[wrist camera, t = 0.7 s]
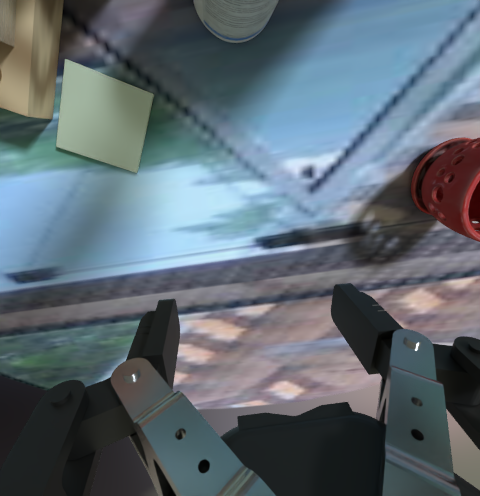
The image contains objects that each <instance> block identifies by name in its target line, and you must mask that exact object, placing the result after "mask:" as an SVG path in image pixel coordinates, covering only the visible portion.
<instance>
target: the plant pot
mask: <svg viewBox="0 0 480 496" xmlns="http://www.w3.org/2000/svg"><path fill="white" fill-rule="evenodd" d="M411 194H412V198H413V201H414V203H415V205H416V206H417V207H418V208H419V209H420V210H421V211H423V212H424V213H427V214H430V215H433V216H434V217H435V218H436V219H437V220H438V221H439V222H441V223H442V224H444V225H445V226H447V227H448V228H450V229H452V230H454V231H455V232H457V233H459V234H462V235H464V236H466V237H468V238H471V239H473V240H476V241H479V242H480V138H477V139H469V138H455V139H451V140H448V141H445V142H443V143H441V144H439V145H437V146H436V147H434V148H433V149H432V150H431V151H430V152H428V153H427V154H426V155H425V157H424V158H423V159H422V160H421V162H420V163H419V165H418V166H417V168H416V170H415V172H414V175H413V178H412V183H411ZM472 221H478V222H479V223H472ZM475 230H478V231H475Z"/></svg>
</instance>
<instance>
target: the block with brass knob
mask: <svg viewBox="0 0 480 496" xmlns="http://www.w3.org/2000/svg"><path fill="white" fill-rule="evenodd" d="M15 22H16V0H0V42H3V43H5V44H8V45H11V46H13V47H14V45H15Z"/></svg>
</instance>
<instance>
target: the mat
mask: <svg viewBox="0 0 480 496" xmlns="http://www.w3.org/2000/svg"><path fill="white" fill-rule="evenodd" d="M153 98H154V94H152V93H149V92H147V91H144V90H142V89H139V88H137V87H134V86H132V85H129V84H127V83H124V82H122V81H119V80H117V79H114V78H112V77H109V76H107V75H104V74H102V73H99V72H97V71H94V70H92V69H89V68H87V67H84V66H82V65H79V64H77V63H74V62H72V61H69V60H67V59H65V65H64V75H63V85H62V95H61V104H60V114H59V124H58V133H57V143H56V147H59V148H62V149H65V150H68V151H71V152H74V153H77V154H80V155H83V156H86V157H89V158H92V159H95V160H98V161H102V162H105V163H108V164H111V165H114V166H117V167H120V168H123V169H126V170H129V171H132V172H135V173H138V169H139V164H140V159H141V154H142V150H143V145H144V140H145V135H146V131H147V126H148V121H149V117H150V112H151V107H152V102H153Z"/></svg>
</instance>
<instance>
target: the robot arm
mask: <svg viewBox="0 0 480 496" xmlns="http://www.w3.org/2000/svg"><path fill="white" fill-rule="evenodd" d="M331 316H332V319H333V322H334V323H335V325H336V326H337V328H338V329H339V331H340V332H341V334H342V335H343V337H344V338H345V340H346V341H347V343H348V344H349V346H350V347H351V349H352V350H353V352H354V353H355V355H356V356H357V358H358V359H359V361H360V362H361V364H362V365H363V367H364V368H365V370H366V371H367V373H368V374H369V375H370V374H378V373H380V375H381V376H382V379H381V383H380V392H379V399H378V407H377V415H376V419H375V418H372V417H370V416H367V415H365V414H361V413H358V412H353V411H352V409H351V408H350V406H349V404H348V402H343V403H335V404H328V405H321V406H319V407H316V408H314V409H312V410H310V411H307V412H305V413H303V414H301V415H298V416H287V415H279V414H271V413H260V414H252V415H245V416H238V427H236V428H233V429H232V430H230V431H228V432H227V433H225V434H224V435H223V436H221V437H219V435H218V434H217V433H216V432H215V431H214V429H213V428H212V427H211V426H210V425H209V424H208V422H207V421H206V420H205V419H204V418H203V417H202V415H201V414H200V413H199V412H198V411H197V409H196V408H195V407H194V406H193V405H192V403H191V402H190V401H189V400H188V399H187V398H186V396H185V395H184V394H183V393H182V392H180V391H177V392H176V393H174V392H173V390H172V389H173V382H174V375H175V368H176V360H177V353H178V346H179V339H180V324H179V318H178V312H177V305H176V300H175V299H166V300H159V302H158V305H157V308H156V311H150V312H147V313H146V314H145V316H144V317H143V318H142V319H141V321H140V323H139V326H138V329H137V332H136V336H135V337H134V340H133V343H132V345H131V348H130V351H129V354H128V357H127V359H126V361H125V362H123V363H122V364H120V365H119V366H118V367H117V368H116V369H115V370H114V372H113V373H112V376H111V377H110V378H108V379H106V380H104V381H101V382H99V383H96V384H93V385H91V386H88V387H85V386H84V384H83V383H82V382H81V381H78V380H69V381H65V382H62V383H60V384H58V385H56V386H54V387H53V388H51V389H50V390H49V391H47V392H46V393H45V394H44V395H43V396H42V398H41V399H40V400H39V402H38V404H37V406H36V407H35V409H34V411H33V412H32V414H31V416H30V418H29V419H28V421H27V423H26V425H25V427H24V428H23V430H22V432H21V434H20V435H19V437H18V439H17V441H16V442H15V444H14V446H13V448H12V450H11V451H10V453H9V455H8V457H7V458H6V460H5V462H4V464H3V465H2V467H1V469H0V496H90V492H91V489H92V485H93V482H94V478H95V475H96V471H97V467H98V464H99V460H100V456H101V453H102V449H103V447H105V446H107V445H110V444H112V443H113V442H116V441H118V440H121V439H123V438H125V437H127V436H129V437H130V439H131V441H132V443H133V445H134V447H135V449H136V450H137V452H138V454H139V456H140V458H141V460H142V462H143V463H144V465H145V467H146V469H147V471H148V473H149V475H150V477H151V479H152V481H153V484H154V486H155V488H156V491H157V493H158V495H159V496H480V490H478V489H477V488H475V487H474V486H473V485H471V484H470V483H468V482H467V481H465V480H464V479H463V478H461V477H460V476H458V475H457V474H455V473H454V472H453V464H452V455H451V447H450V439H449V430H448V422H447V413H446V409H447V410H448V411H449V412H450V414H451V415H452V416H453V417H454V419H455V420H456V421H457V422H458V424H459V425H460V426H461V427H462V429H463V430H464V431H465V432H466V434H467V435H468V436H469V437H470V439H471V440H472V441H473V442H474V444H475V445H476V446H477V447H478V449H479V450H480V340H479V339H476V338H472V337H458V338H456V339H455V341H454V343H453V346H447V345H439V344H432V343H431V341H430V340H429V339H428V338H427V337H425V336H424V335H422V334H420V333H418V332H416V331H413V330H408V329H403V328H402V327H401V326H400V325H399V324H398V323H397V322H396V321H395V320H394V319H393V318H392V317H391V316H390V315H389V314H388V313H387V312H386V311H384V309H383V308H382V307H381V306H379V304H378V303H377V302H376V301H375V300H374V299H373V298H372V297H370V296H369V295H367V294H365V293H363V292H359V291H358V290H357V289H356V288H355V287H354V286H353V285H352V284H351V283H348V284H337V285H335V286H334V290H333V298H332V305H331Z"/></svg>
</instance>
